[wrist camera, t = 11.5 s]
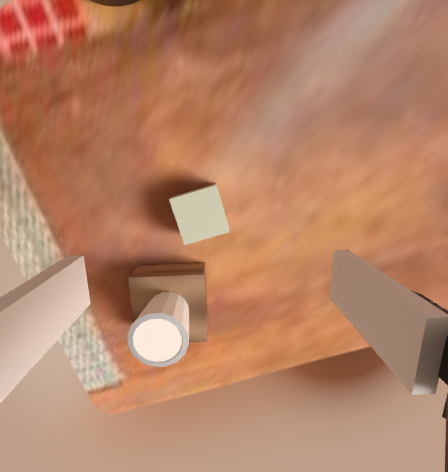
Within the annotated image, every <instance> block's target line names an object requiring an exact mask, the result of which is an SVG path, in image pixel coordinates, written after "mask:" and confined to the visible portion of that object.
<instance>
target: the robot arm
mask: <svg viewBox="0 0 448 472" xmlns="http://www.w3.org/2000/svg"><path fill="white" fill-rule="evenodd" d="M92 1H95V2H97V3H101V4H104V5H111V6H123V5H128V4H132V3H135V2H137V1H140V0H92ZM330 299H331V300H332V301H333V302H334V304H335V305H336V306H337V307H338V308H339V309H340V311H341V312H342V313H343V314H344V315H345V316H346V318H347V319H348V320H349V321H350V322H351V324H352V325H353V326H354V327H355V328H356V329H357V331H358V332H359V333H360V334H361V335H362V336H363V338H364V339H365V340H366V341H367V342H368V343H369V345H370V346H371V347H372V348H373V349H374V350H375V352H376V353H377V354H378V355H379V356H380V358H381V359H382V360H383V361H384V362H385V363H386V365H387V366H388V367H389V368H390V369H391V370H392V372H393V373H394V374H395V375H396V376H397V378H398V379H399V380H400V381H401V382H402V383H403V385H404V386H405V387H406V388H407V389H408V390H409V392H410V393H411V394H435V393H436V389H437V384H438V379H439V377H440V378H441V379H442V380H443V381H444V382H445V383H446V384H447V385H448V311H447V310H445V309H444V308H441V306H439V305H438V304H436V303H433V301H431V300H430V299H428V298H426V297H425V296H423V295H421V294H419V293H416V292H414V291H411V290H409V289H408V288H406V287H405V286H403V285H402V284H400V283H398V282H397V281H395V280H394V279H392V278H391V277H389V276H388V275H386V274H384V273H383V272H381V271H380V270H378V269H377V268H375V267H374V266H372V265H371V264H369V263H367V262H366V261H364V260H363V259H361V258H360V257H358V256H357V255H355V254H354V253H352V252H350V251H349V250H334V256H333V267H332V278H331V289H330ZM90 304H91V303H90V296H89V290H88V283H87V276H86V269H85V263H84V256H83V255H79V256H67V257H66V258H64V259H62V260H61V261H59V262H57V263H56V264H54V265H53V266H51V267H49V268H48V269H46V270H44V271H43V272H41V273H40V274H38V275H36V276H35V277H33V278H31V279H30V280H28V281H26V282H25V283H23V284H22V285H20V286H18V287H17V288H15V289H14V290H12V291H10V292H9V293H7V294H5V295H4V296H2V297H0V403H1V402H2V401H3V400H4V398H5V397H6V396H7V395H8V394H9V393H10V392H11V391H12V390H13V389H14V387H15V386H16V385H17V384H18V383H19V382H20V381H21V380H22V379H23V377H24V376H25V375H26V374H27V373H28V372H29V371H30V370H31V369H32V368H33V366H34V365H35V364H36V363H37V362H38V361H39V360H40V359H41V358H42V357H43V355H44V354H45V353H46V352H47V351H48V350H49V349H50V348H51V347H52V346H53V344H54V343H55V342H56V341H57V340H58V339H59V338H60V337H61V336H62V335H63V333H64V332H65V331H66V330H67V329H68V328H69V327H70V326H71V325H72V323H73V322H74V321H75V320H76V319H77V318H78V317H79V316H80V315H81V314H82V312H83V311H84V310H85V309H86V308H87V307H88V306H89V305H90ZM442 417H444V418H446V447H445V472H448V394H447V398H446V403H445V407H444V411H443V415H442Z"/></svg>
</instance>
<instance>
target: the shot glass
mask: <svg viewBox="0 0 448 472" xmlns="http://www.w3.org/2000/svg"><path fill="white" fill-rule="evenodd" d="M127 338H128V345H129V349H130V350H131V352H132V353H133V355H134V357H136V358H137V359H138V360H140V361H141V362H142V363H144V364H147V365H150V366H154V367H162V366H169V365H171V364H173V363H175V362H178V361H179V360H180V359H181V357H182V356H183V355H184V354H185V353H186V350H187V347H188V345H189V306H188V304H187V302H186V300H185V299H184V298H183V297H181V296H180V295H179V294H176V293H173V292H162V293H160V294H157V295H155V296H154V297H153V298H152V300H151V301H150V302H149V303H148V305H147V306H146V307H145V308H144V310H143V311H142V312H141V314H140V315H139V316H138V318H137V319H136V320H135V322H134V323H133V324H132V326H131V327H130V330H129V333H128V336H127Z"/></svg>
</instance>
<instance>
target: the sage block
mask: <svg viewBox="0 0 448 472" xmlns="http://www.w3.org/2000/svg"><path fill="white" fill-rule="evenodd" d="M169 201H170V204H171V207H172V210H173V213H174V216H175V219H176V222H177V225H178V228H179V231H180V234H181V236H182V239H183V242H184V245H187V244H190V243H193V242H197V241H200V240H204V239H207V238H211V237H214V236H217V235H221V234H224V233H228V232H230V230H229V226H228V222H227V219H226V215H225V212H224V208H223V205H222V202H221V198H220V195H219V191H218V188H217V185H216V184H213V185H210V186H206V187H203V188H200V189H196V190H193V191H190V192H186V193H183V194H180V195H176V196H174V197H172V198H171V199H169Z"/></svg>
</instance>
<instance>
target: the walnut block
mask: <svg viewBox="0 0 448 472" xmlns="http://www.w3.org/2000/svg"><path fill="white" fill-rule="evenodd" d="M128 283H129V291H130V299H131V308H132V316H133V323H134V322H135V320H136V319H137V318H138V316H139V315H140V314H141V312H142V311H143V310H144V308H145V307H146V306H147V305H148V303H149V302H150V301H151V300H152V298H153V297H154V296H155V295H157V294H160V293H162V292H173V293H176V294H179V295H180V296H181V297H183V298H184V299H185V300H186V302H187V304H188V306H189V342H206V341H207V336H208V310H207V291H206V272H205V263H186V264H162V265H138V266H137V268H136V269H135V270H134V271H133V272H132V274H131V275H130V276H129V277H128Z"/></svg>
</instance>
